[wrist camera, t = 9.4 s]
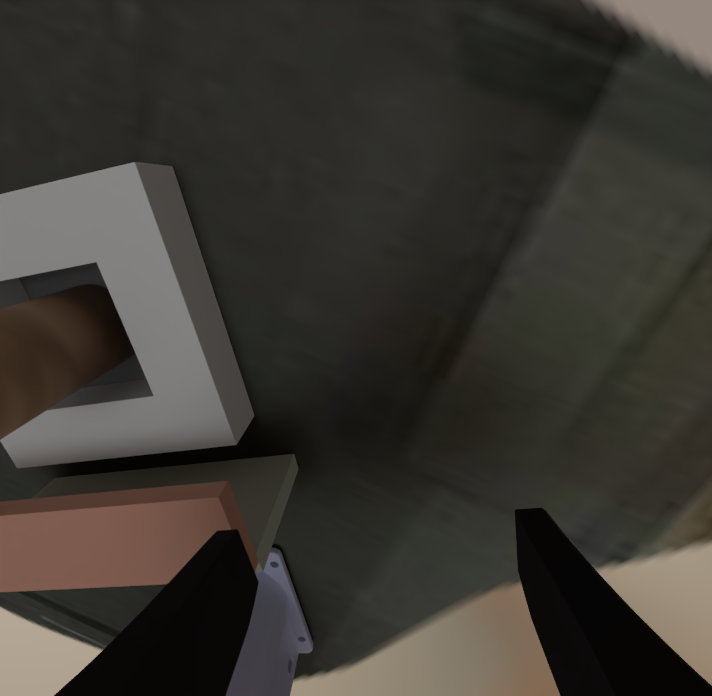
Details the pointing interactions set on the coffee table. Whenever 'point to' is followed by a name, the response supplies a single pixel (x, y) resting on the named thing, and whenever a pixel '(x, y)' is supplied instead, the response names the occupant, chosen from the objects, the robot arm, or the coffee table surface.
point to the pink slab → (139, 522)
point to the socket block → (125, 317)
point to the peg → (56, 350)
